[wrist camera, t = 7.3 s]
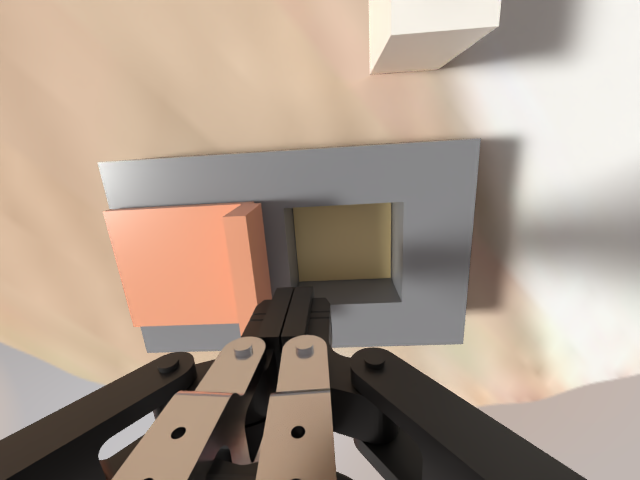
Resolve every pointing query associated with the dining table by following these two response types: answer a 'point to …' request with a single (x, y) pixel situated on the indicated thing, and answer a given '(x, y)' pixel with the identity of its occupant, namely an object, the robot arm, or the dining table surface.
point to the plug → (426, 32)
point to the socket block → (335, 232)
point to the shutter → (191, 262)
